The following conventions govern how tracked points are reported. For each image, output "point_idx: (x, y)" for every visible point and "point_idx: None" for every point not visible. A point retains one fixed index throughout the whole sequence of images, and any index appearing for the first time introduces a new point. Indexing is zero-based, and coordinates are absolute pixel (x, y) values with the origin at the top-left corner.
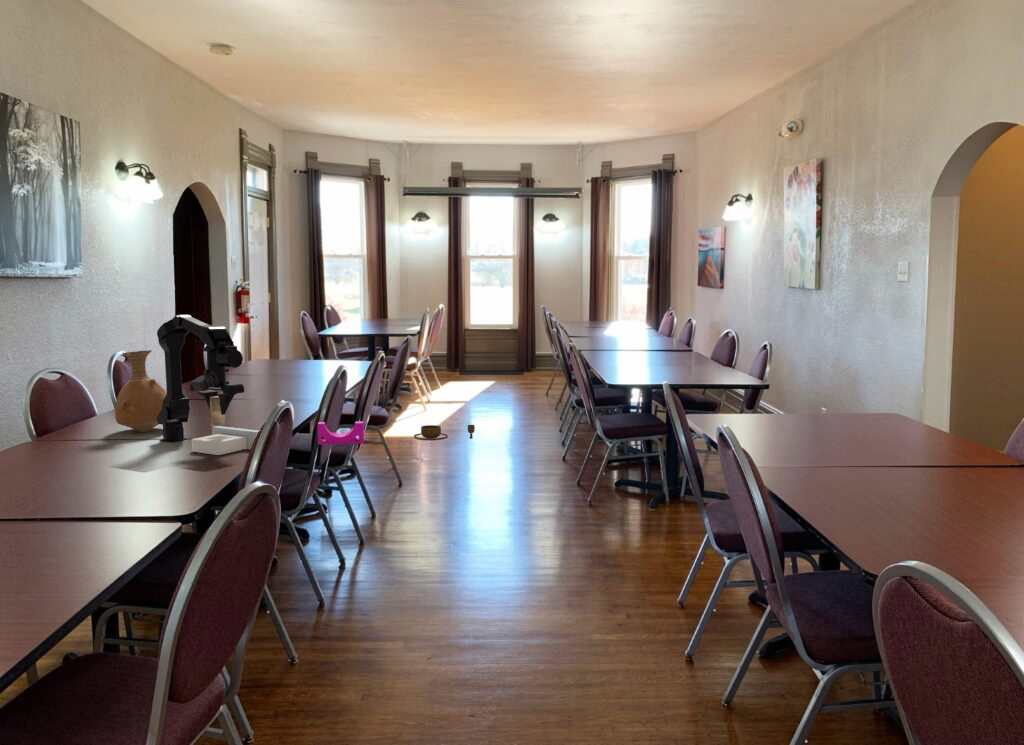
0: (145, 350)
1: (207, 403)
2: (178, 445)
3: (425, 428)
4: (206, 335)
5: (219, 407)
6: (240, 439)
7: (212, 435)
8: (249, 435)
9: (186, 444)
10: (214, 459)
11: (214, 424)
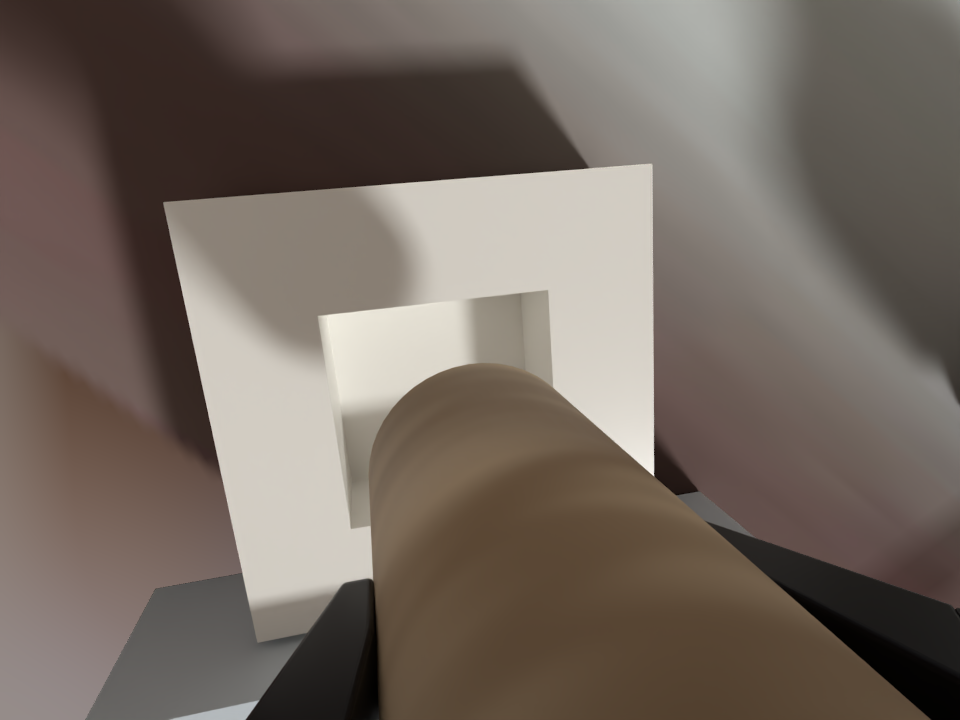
0: None
1: (948, 614)
2: (907, 302)
3: None
4: None
5: (390, 661)
6: (241, 548)
7: (633, 455)
8: (218, 671)
9: (881, 369)
10: (41, 25)
11: (438, 379)
